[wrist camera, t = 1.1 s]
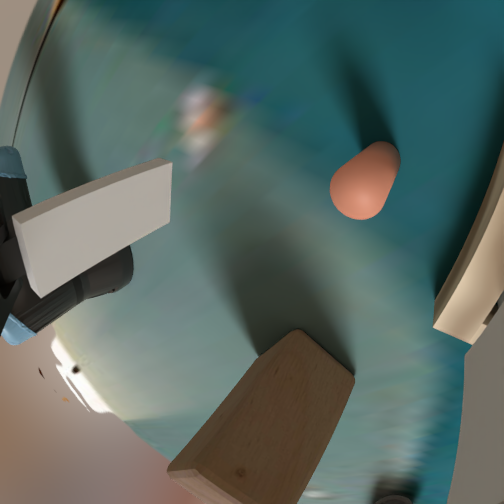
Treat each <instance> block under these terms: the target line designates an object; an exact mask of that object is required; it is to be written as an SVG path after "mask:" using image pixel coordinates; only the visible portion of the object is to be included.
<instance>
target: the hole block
mask: <svg viewBox="0 0 504 504" xmlns="http://www.w3.org/2000/svg"><path fill="white" fill-rule="evenodd" d="M503 290H504V142H503V145H502V149H501V152H500V155H499V158H498V161H497V164H496V167H495V170H494V173H493V176H492V179H491V181H490V184H489V187H488V189H487V192H486V195H485V197H484V200H483V202H482V205H481V207H480V210H479V212H478V214H477V217H476V219H475V221H474V224H473V226H472V228H471V230H470V233H469V235H468V237H467V239H466V241H465V243H464V246H463V248H462V250H461V252H460V254H459V256H458V258H457V260H456V262H455V264H454V266H453V268H452V270H451V272H450V274H449V276H448V277H447V279H446V281H445V283H444V285H443V287H442V288H441V290H440V292H439V294H438V296H437V297H436V299H435V305H434V319H433V328H436V329H438V330H440V331H442V332H445V333H447V334H449V335H451V336H454V337H456V338H458V339H460V340H463V341H465V342H467V343H469V344H472V345H473V344H474V343H475V342H476V340H477V339H478V338H479V336H480V335H481V334H482V332H483V331H484V329H485V328H486V327H487V325H488V324H489V322H490V321H491V320H492V318H493V317H494V315H495V314H496V312H497V311H498V309H499V308H498V306H497V305H495V303H496V302H497V300H498V299H499V297H500V295H501V294H502V292H503Z"/></svg>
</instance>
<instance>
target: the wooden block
mask: <svg viewBox="0 0 504 504" xmlns="http://www.w3.org/2000/svg"><path fill="white" fill-rule="evenodd" d="M354 384H355V378H354V376H353V374H351V373H350V372H349V371H348V370H347V369H346V368H344V367H343V366H342V365H341V364H340V363H339V362H338V361H336V360H335V359H334V358H333V357H332V356H331V355H330V354H328V353H327V352H326V351H325V350H324V349H323V348H322V347H320V346H319V345H318V344H317V343H316V342H315V341H314V340H312V339H311V338H310V337H309V336H308V335H307V334H306V333H305V332H303V331H302V330H299V329H296V330H293V331H291V332H290V333H288V334H287V335H286V336H285V337H283V338H282V339H281V340H280V341H279V342H277V343H276V344H275V345H274V346H272V347H271V348H270V349H269V350H267V351H266V352H265V353H264V354H262V355H261V356H260V357H258V358H257V359H256V360H255V361H254V363H253V364H252V365H251V367H250V368H249V369H248V370H247V372H246V373H245V374H244V376H243V377H242V378H241V379H240V381H239V382H238V383H237V384H236V386H235V387H234V388H233V389H232V391H231V392H230V393H229V394H228V396H227V397H226V398H225V399H224V401H223V402H222V403H221V404H220V406H219V407H218V408H217V409H216V411H215V412H214V413H213V414H212V415H211V417H210V418H209V419H208V420H207V421H206V423H205V424H204V425H203V426H202V427H201V429H200V430H199V431H198V432H197V433H196V434H195V436H194V437H193V438H192V439H191V440H190V441H189V443H188V444H187V445H186V446H185V447H184V448H183V450H182V451H181V452H180V453H179V454H178V455H177V456H176V458H175V459H174V460H173V461H172V462H171V463H170V465H169V466H168V469H167V473H168V475H169V476H170V478H171V479H172V480H174V481H175V482H176V483H178V484H179V485H180V486H182V487H183V488H184V489H186V490H187V491H188V492H190V493H191V494H193V495H194V496H195V497H197V498H198V499H200V500H201V501H203V502H204V503H206V504H297V502H298V500H299V499H300V497H301V495H302V493H303V491H304V490H305V488H306V486H307V484H308V482H309V481H310V479H311V477H312V475H313V473H314V471H315V469H316V467H317V465H318V463H319V461H320V459H321V457H322V455H323V453H324V451H325V449H326V447H327V445H328V443H329V441H330V439H331V437H332V435H333V433H334V430H335V428H336V426H337V424H338V422H339V419H340V417H341V415H342V413H343V410H344V408H345V406H346V403H347V401H348V399H349V396H350V394H351V391H352V389H353V386H354Z"/></svg>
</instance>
